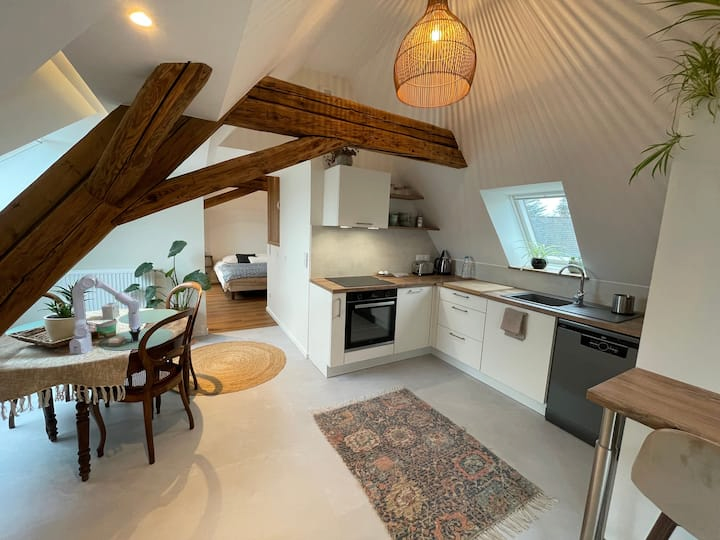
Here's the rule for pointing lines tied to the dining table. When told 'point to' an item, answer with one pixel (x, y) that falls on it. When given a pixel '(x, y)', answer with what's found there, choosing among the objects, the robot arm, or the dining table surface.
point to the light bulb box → (110, 311)
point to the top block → (116, 339)
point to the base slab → (117, 343)
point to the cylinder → (136, 341)
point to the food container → (106, 329)
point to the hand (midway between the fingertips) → (135, 339)
